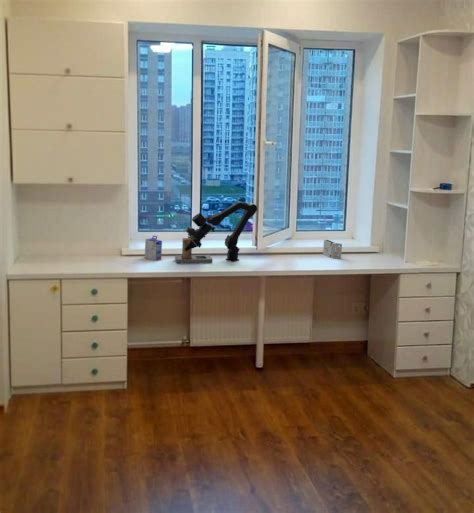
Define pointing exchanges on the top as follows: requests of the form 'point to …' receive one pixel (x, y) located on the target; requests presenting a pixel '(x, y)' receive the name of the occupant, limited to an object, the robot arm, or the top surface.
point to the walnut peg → (185, 253)
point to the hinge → (332, 249)
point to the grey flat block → (194, 259)
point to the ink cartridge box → (153, 248)
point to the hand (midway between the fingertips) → (184, 249)
